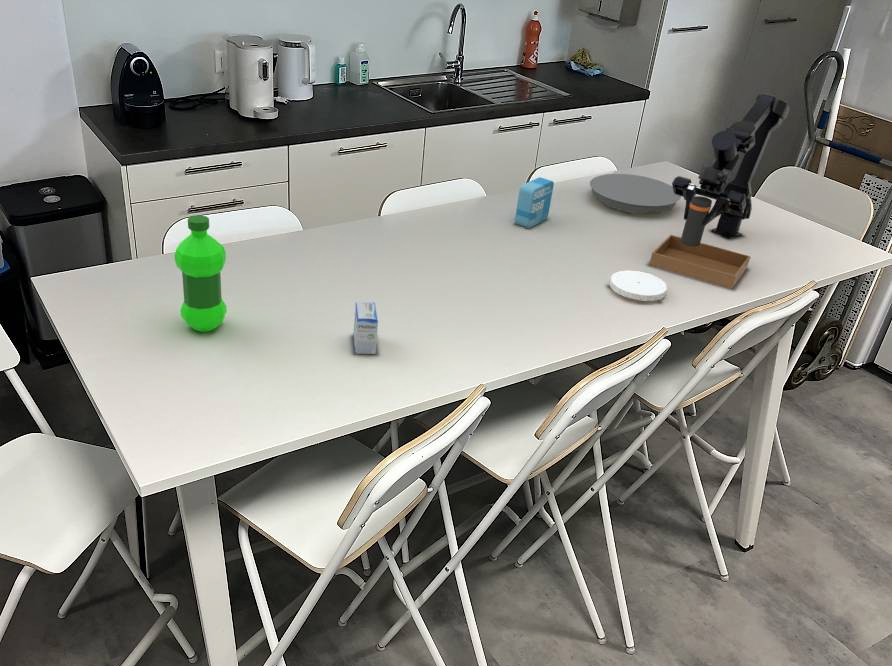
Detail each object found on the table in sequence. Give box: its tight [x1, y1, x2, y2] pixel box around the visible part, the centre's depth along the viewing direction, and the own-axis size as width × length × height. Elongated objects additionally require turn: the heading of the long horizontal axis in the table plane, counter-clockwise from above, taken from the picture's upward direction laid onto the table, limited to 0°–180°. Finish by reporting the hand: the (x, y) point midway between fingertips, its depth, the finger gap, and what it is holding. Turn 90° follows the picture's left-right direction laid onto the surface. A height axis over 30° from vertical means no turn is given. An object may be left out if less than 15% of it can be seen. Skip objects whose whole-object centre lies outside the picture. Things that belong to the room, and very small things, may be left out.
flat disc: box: [589, 173, 682, 214], centre depth 268 cm, size 28×28×4 cm
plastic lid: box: [608, 269, 668, 302], centre depth 215 cm, size 14×14×2 cm
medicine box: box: [352, 301, 379, 355], centre depth 182 cm, size 8×4×9 cm, turn 5°
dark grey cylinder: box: [680, 195, 713, 247], centre depth 223 cm, size 5×5×12 cm
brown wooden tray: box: [649, 234, 751, 290], centre depth 229 cm, size 16×22×4 cm
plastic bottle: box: [174, 214, 227, 333], centre depth 181 cm, size 10×10×25 cm
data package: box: [514, 176, 555, 229], centre depth 247 cm, size 12×4×12 cm, turn 141°
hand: (694, 221), depth 222 cm, fingers closed on dark grey cylinder, 5 cm apart
